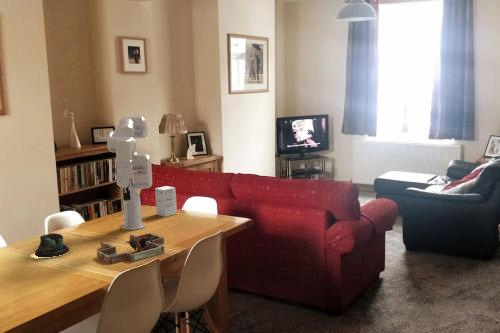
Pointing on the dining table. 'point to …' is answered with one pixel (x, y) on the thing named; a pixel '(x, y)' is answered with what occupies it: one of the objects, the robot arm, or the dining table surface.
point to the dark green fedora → (51, 246)
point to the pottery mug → (141, 244)
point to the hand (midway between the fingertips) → (127, 200)
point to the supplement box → (166, 201)
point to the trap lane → (110, 256)
